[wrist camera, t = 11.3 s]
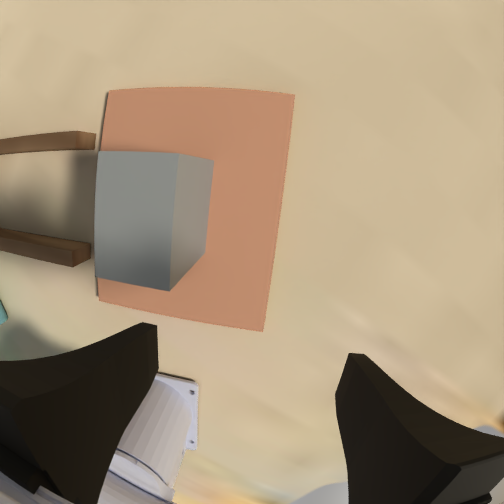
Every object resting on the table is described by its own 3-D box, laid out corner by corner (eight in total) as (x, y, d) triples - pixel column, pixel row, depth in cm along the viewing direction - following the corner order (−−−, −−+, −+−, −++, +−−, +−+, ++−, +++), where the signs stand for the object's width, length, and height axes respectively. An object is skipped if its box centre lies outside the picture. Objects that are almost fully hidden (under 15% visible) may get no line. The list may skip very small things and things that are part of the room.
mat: (263, 327, 22) (262, 331, 21) (102, 297, 22) (98, 300, 22) (294, 97, 18) (294, 94, 17) (113, 92, 18) (109, 90, 18)
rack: (90, 258, 22) (60, 273, 18) (-18, 235, 22) (-44, 244, 19) (96, 133, 19) (63, 129, 15) (-17, 145, 20) (-45, 146, 16)
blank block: (205, 252, 20) (169, 291, 13) (149, 244, 20) (95, 277, 13) (214, 160, 18) (179, 153, 12) (155, 156, 19) (98, 151, 12)
